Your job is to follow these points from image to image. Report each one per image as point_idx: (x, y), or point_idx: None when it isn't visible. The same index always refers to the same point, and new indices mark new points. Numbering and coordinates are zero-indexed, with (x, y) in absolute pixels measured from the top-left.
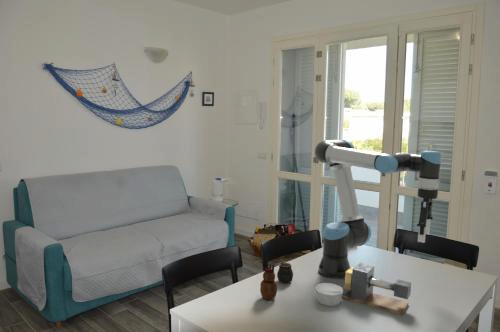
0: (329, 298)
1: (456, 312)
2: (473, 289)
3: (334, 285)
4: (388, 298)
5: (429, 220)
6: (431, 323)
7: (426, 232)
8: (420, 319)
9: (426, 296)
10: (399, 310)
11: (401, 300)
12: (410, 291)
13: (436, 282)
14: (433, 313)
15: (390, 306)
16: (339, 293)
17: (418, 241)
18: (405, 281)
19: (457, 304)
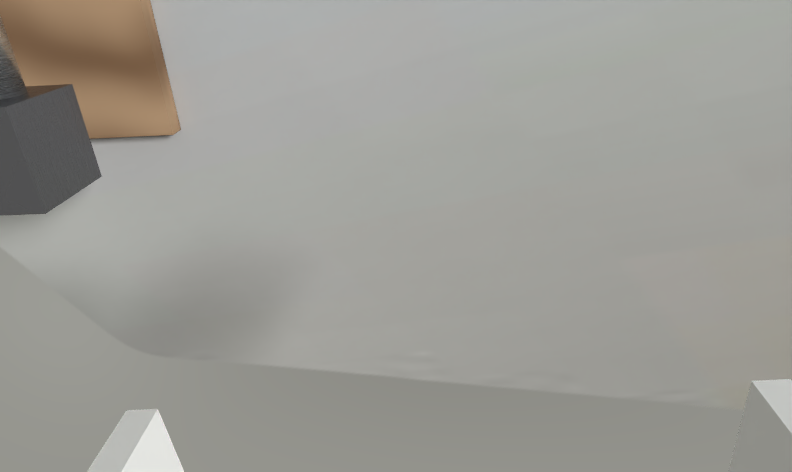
0: None
1: (293, 339)
2: (667, 368)
3: None
4: (117, 5)
5: None
6: (79, 272)
7: (756, 464)
8: (71, 224)
9: (391, 186)
10: None
11: (163, 90)
12: (82, 186)
13: (681, 189)
14: (193, 260)
15: (18, 58)
16: None
17: (127, 426)
18: (20, 173)
19: (395, 331)
